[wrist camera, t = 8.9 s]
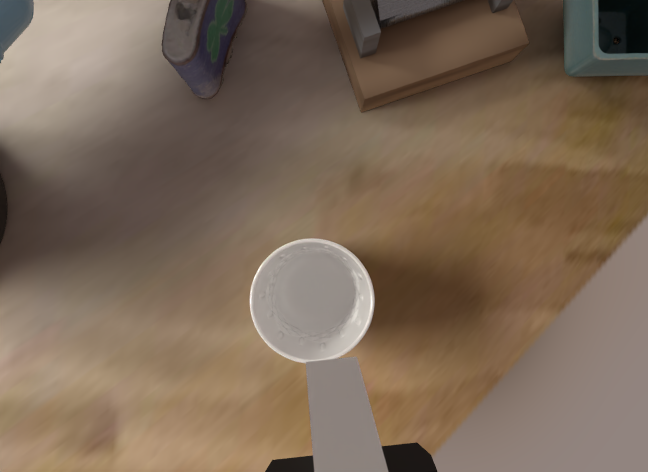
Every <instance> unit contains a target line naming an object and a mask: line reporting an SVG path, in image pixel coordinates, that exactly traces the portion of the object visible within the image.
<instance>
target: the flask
mask: <svg viewBox="0 0 648 472" xmlns="http://www.w3.org/2000/svg"><path fill="white" fill-rule="evenodd" d="M246 11H247V6H246V2H245V0H171V1H170V3H169V8H168V12H167V17H166V22H165V27H164V31H163V40H162V52H163V55H164V57H165V58H166V59H167V60H168V61H169V62H170V63H171V65H172V66H173V67H174V68H175V69H176V71H177V72H178V73H179V75H180V76H181V78H183V79H184V80H185V82H186V83H187V84H188V86H189V87H190V88H191V90H192V92H193V93H194V94H195V95H197V96H198V97H201V98H208V99H209V98H212V97H213V96H215V95H216V93H217V92H218V90H219V89H220V86H221V84H222V83H223V79H222V76H223V73H224V70H225V67H226V65H227V64H228V63H229V59H230V58H231V54H232V42H233V39H234V38H237V29H238V27H239V26H240V25H241V24H242V20H243V18H244V16H245V13H246Z"/></svg>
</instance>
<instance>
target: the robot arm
mask: <svg viewBox="0 0 648 472" xmlns="http://www.w3.org/2000/svg"><path fill="white" fill-rule="evenodd" d="M33 10H34V2H33V0H0V63H1V60H2V59H3V57H4V52H5V51H6V50H7V49H8V48H9V47H10V46H11V45H12V44H13V42H14V41H15V40H16V39H17V38H18V37H19V36H20V35H21V34H22V32H23V31H24V30H25V29H26V28H27V27H28V26H29V24H30V23H31V20H32V18H33ZM6 217H7V199H6V192H5V187H4V183H3V180H2V177H1V175H0V242H1V240H2V237H3V233H4V229H5V224H6ZM306 371H307V384H308V397H309V410H310V423H311V436H312V448H313V456H305V457H296V458H287V459H278V460H272V461H271V463H270V465H269V466H268V468H267V470H266V471H265V472H437V469H436V467H435V464H434V462H433V459H432V457H431V455H430V454H429V453H428V452H427V451H426V450H425V449H424V448H422V447H421V446H420V445H419V444H418V443H409V444H400V445H391V446H382V447H381V443H380V439H379V436H378V432H377V428H376V425H375V421H374V417H373V414H372V410H371V407H370V403H369V399H368V396H367V392H366V388H365V385H364V381H363V377H362V374H361V370H360V366H359V363H358V359H357V357H348V358H338V359H329V360H319V361H309V362H306Z"/></svg>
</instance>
